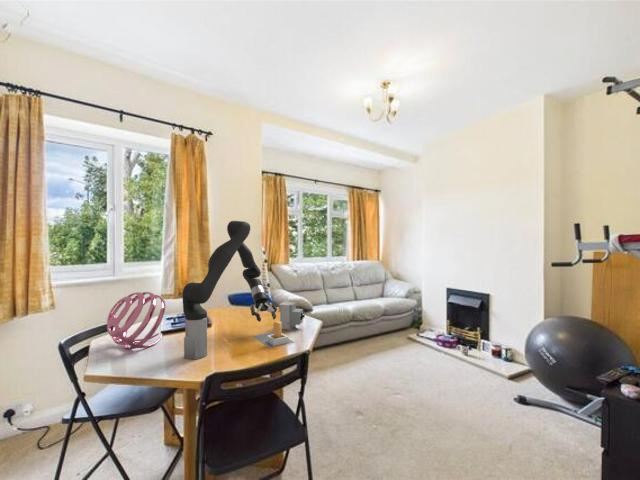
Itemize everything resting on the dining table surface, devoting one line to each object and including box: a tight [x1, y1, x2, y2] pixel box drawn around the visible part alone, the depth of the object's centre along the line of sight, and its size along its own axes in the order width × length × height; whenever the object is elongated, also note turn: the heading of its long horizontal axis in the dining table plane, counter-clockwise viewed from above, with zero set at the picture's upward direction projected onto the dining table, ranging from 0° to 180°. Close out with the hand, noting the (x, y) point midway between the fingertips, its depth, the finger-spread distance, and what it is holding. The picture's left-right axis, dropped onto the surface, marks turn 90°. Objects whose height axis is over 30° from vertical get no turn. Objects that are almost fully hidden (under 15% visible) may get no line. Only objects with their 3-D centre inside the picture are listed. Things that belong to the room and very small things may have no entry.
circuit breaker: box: [278, 301, 306, 330], centre depth 181 cm, size 8×14×15 cm, turn 78°
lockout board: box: [252, 331, 294, 349], centre depth 160 cm, size 22×14×4 cm, turn 34°
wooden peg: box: [273, 320, 283, 339], centre depth 155 cm, size 4×4×10 cm
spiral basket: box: [106, 291, 166, 350], centre depth 154 cm, size 28×28×27 cm
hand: (267, 319), depth 165 cm, fingers open, 8 cm apart
